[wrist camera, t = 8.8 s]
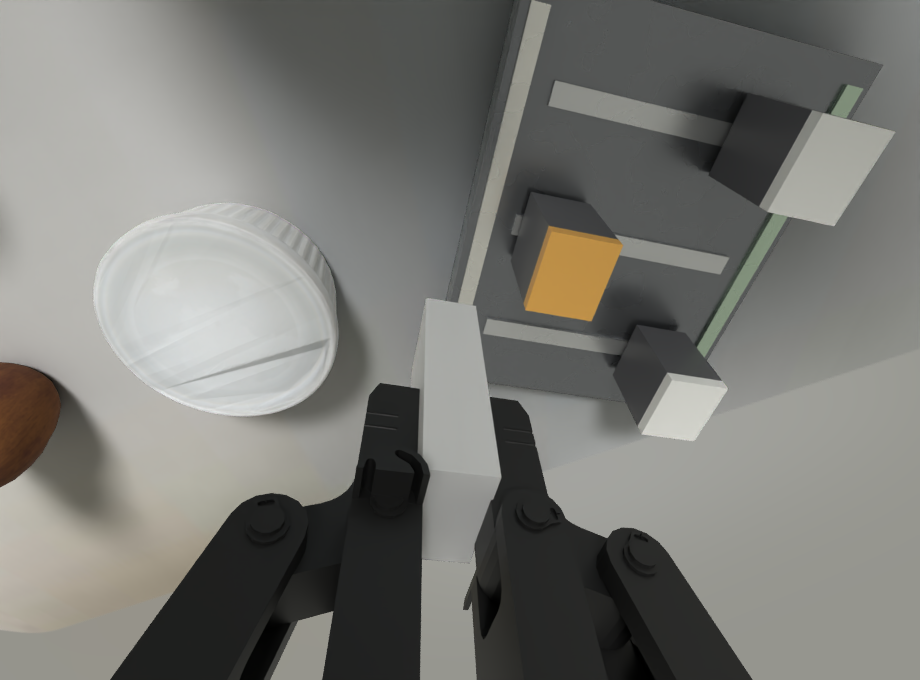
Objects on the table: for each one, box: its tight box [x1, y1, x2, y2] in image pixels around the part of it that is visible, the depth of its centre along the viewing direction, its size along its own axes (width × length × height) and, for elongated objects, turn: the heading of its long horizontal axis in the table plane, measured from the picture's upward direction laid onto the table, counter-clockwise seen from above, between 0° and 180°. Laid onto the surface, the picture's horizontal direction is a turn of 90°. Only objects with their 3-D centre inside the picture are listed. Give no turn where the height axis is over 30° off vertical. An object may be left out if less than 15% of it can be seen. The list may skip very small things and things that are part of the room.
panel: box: [446, 0, 883, 402], centre depth 26 cm, size 16×20×2 cm
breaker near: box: [708, 93, 895, 226], centre depth 21 cm, size 3×4×5 cm
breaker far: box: [613, 325, 728, 441], centre depth 27 cm, size 3×4×5 cm
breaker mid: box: [511, 192, 623, 321], centre depth 23 cm, size 3×4×5 cm
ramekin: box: [93, 202, 339, 417], centre depth 26 cm, size 11×11×5 cm
